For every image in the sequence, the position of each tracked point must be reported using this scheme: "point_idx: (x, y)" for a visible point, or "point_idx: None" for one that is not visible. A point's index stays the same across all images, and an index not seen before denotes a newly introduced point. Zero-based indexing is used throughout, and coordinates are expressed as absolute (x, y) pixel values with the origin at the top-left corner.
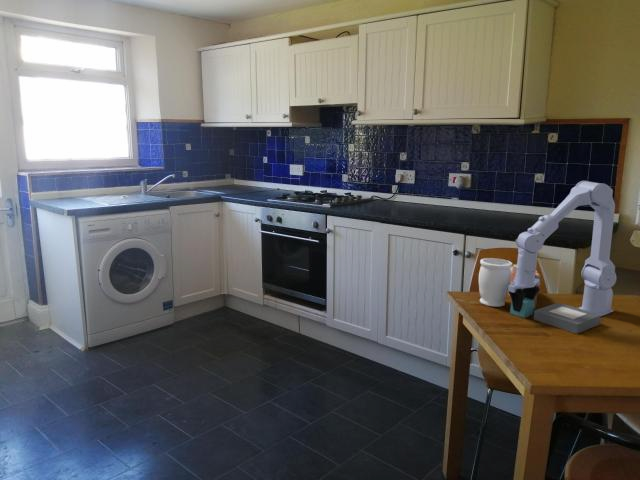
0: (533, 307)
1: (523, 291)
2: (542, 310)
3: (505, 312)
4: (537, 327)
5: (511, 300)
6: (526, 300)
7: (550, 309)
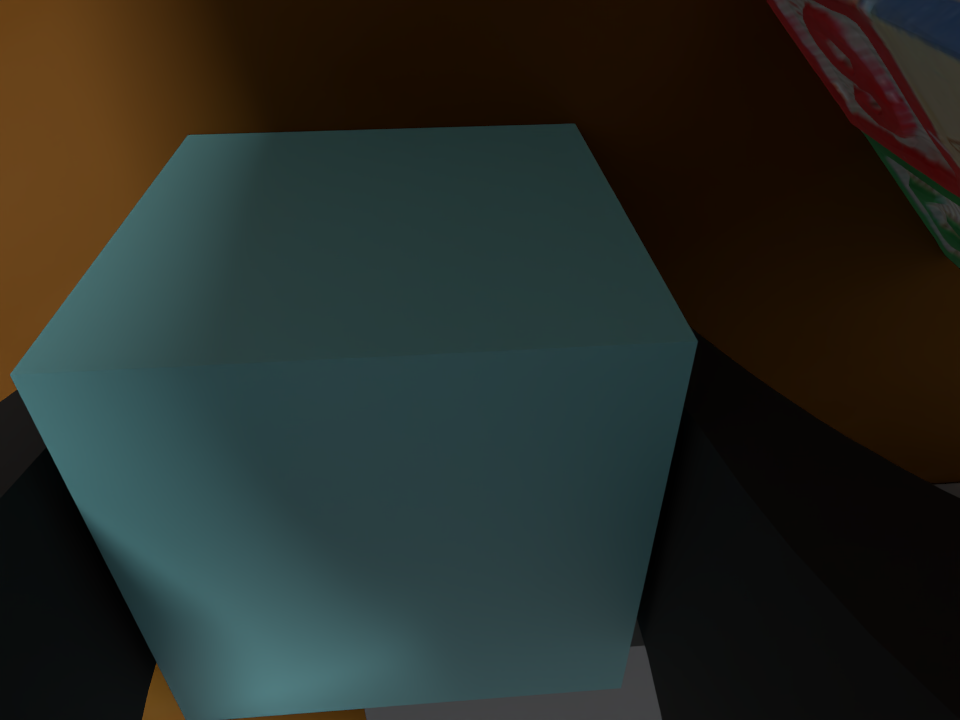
0: (953, 240)
1: (791, 619)
2: (488, 703)
3: (108, 25)
4: (155, 666)
5: (45, 335)
6: (416, 641)
7: (658, 713)
